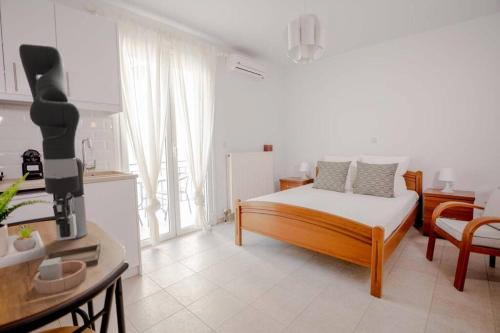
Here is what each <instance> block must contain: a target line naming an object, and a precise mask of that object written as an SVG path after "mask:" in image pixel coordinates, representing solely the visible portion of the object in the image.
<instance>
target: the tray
mask: <svg viewBox="0 0 500 333" xmlns="http://www.w3.org/2000/svg"><path fill="white" fill-rule="evenodd" d="M100 254H101V243H98V244H92V245H91V244H90V245H85V246H80V247H75V248H74V247H73V248H69V249H62V250H57V251H51V252H47V253H46V255H45V256H44V258H43V260H42V262H43V261H44V260H48V259H54V258H59V257H61V262H66V261H71V260H74V261H83V262H85V263H86V267H90V266H95V265H98V263H99V258H100ZM42 262H41V263H40V264H39V266H38V268H37V269H36V270H35V275H36V274H37V273H38V272H40V265H41V264H42Z"/></svg>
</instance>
